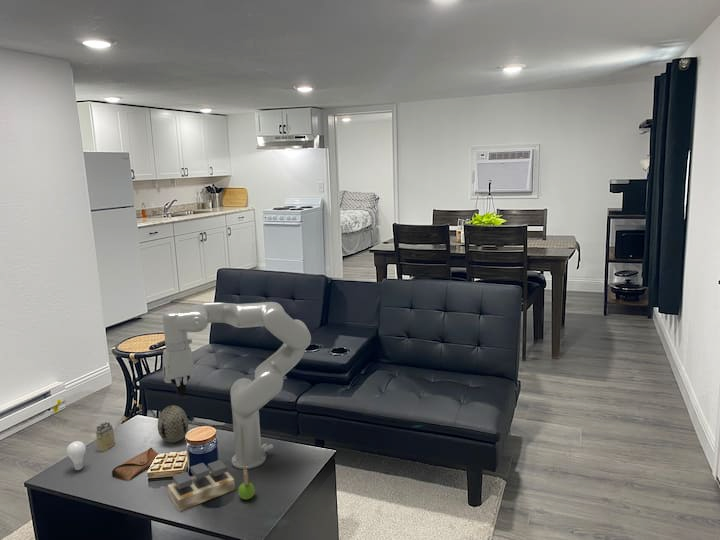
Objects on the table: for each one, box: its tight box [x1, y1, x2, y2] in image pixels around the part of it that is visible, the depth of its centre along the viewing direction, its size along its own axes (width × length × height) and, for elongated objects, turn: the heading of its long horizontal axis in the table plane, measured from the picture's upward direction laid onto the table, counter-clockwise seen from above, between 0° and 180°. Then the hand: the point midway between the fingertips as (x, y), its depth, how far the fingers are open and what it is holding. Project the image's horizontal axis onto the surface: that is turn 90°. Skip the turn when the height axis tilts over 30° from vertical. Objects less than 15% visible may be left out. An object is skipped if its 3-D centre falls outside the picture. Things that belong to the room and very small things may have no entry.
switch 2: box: [207, 459, 228, 476], centre depth 191 cm, size 4×6×3 cm
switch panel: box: [167, 471, 236, 512], centre depth 188 cm, size 19×11×4 cm, turn 126°
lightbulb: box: [66, 440, 87, 471], centre depth 204 cm, size 6×6×11 cm
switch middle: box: [190, 462, 210, 479], centre depth 187 cm, size 4×6×3 cm
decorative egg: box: [157, 404, 189, 443], centre depth 223 cm, size 12×12×15 cm
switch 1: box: [172, 471, 193, 489], centre depth 184 cm, size 4×6×3 cm
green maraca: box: [237, 468, 256, 500], centre depth 183 cm, size 5×6×12 cm
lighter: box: [95, 421, 116, 452], centre depth 220 cm, size 7×4×10 cm, turn 156°
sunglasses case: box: [111, 447, 159, 483], centre depth 206 cm, size 18×7×7 cm, turn 152°
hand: (181, 394), depth 197 cm, fingers closed
